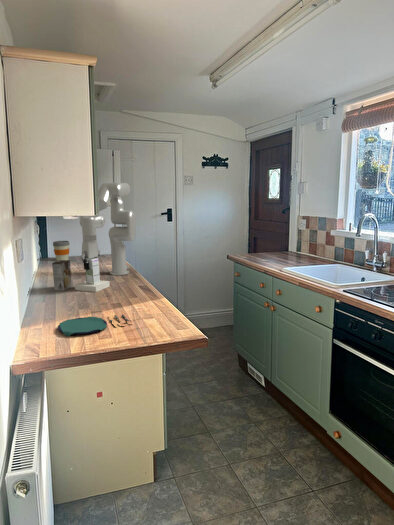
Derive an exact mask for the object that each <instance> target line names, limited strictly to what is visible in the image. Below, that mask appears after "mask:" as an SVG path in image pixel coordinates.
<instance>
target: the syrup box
mask: <svg viewBox="0 0 394 525" xmlns="http://www.w3.org/2000/svg"><path fill="white" fill-rule="evenodd" d="M99 259H100V258H99ZM99 259H98V258H91V259H89V261H88V263H89V270H85V281H86V283H87V284H97V283H100V281H101V279H100V278H101V277H100V276H101V274H100V260H99ZM86 260H87V259H86Z"/></svg>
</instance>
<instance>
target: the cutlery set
mask: <svg viewBox="0 0 394 525" xmlns="http://www.w3.org/2000/svg"><path fill="white" fill-rule="evenodd" d="M122 316H123V317H124V318H126V320H127V321H130V320H129V319H128V318H127V317H126V316H125V314H121V317H122ZM113 317H114V318H115V317H116V318H117V319H118V320H120V319H119V318H118V316H117V315H113ZM123 317H122V318H123ZM108 318H110V317H109V316H107V319H108ZM116 318H115V319H116ZM124 318H123V319H124ZM117 319H116V320H117ZM118 320H117V321H118ZM126 320H125V321H126ZM110 321H111V322H112V321H113V319H111V320H109V322H110ZM111 322H110V323H111ZM107 325H108V323H107V321H106V320H105V319H103V318H102V317H97V316H87V317H85V316H84V317H75V318H71V319H69V318H68V319H66V320H63V321H61V322H60V323H59V324H58V326H57V330H59V332H61V333H62V334H63V335H64V336H65V337H68V336H69V337H70V336H71V335H83V334H84V335H85V334H86V335H87V334H91V333H96V332H99V331H101V330H102V331H103V329H104V330H105V329H107Z"/></svg>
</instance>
